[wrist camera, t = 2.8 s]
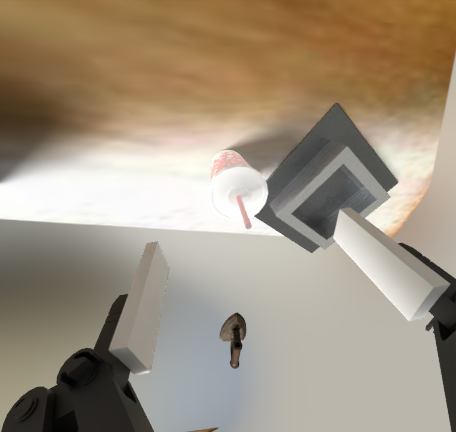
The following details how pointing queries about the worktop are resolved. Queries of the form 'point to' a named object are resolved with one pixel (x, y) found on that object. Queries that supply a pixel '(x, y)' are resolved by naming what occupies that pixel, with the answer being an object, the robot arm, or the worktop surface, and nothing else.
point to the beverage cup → (235, 188)
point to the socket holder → (325, 182)
